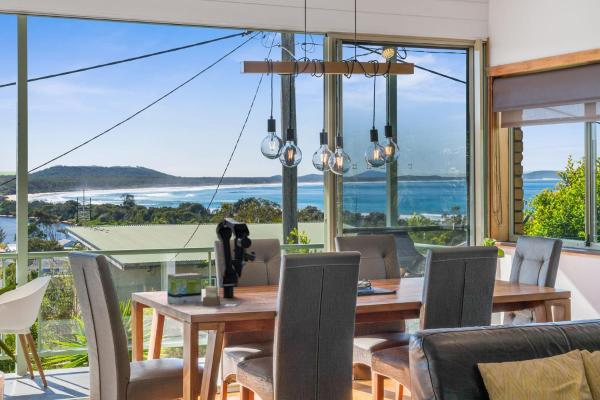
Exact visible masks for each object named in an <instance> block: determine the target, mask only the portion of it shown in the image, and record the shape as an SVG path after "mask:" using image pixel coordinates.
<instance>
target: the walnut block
mask: <svg viewBox="0 0 600 400" xmlns="http://www.w3.org/2000/svg"><path fill="white" fill-rule="evenodd" d="M202 301H203V306H202V307H217V306H218V305H219V304H220V302H221V295H218V296H217V297H215V298H212V297H206V295H205V296H203V297H202Z"/></svg>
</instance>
